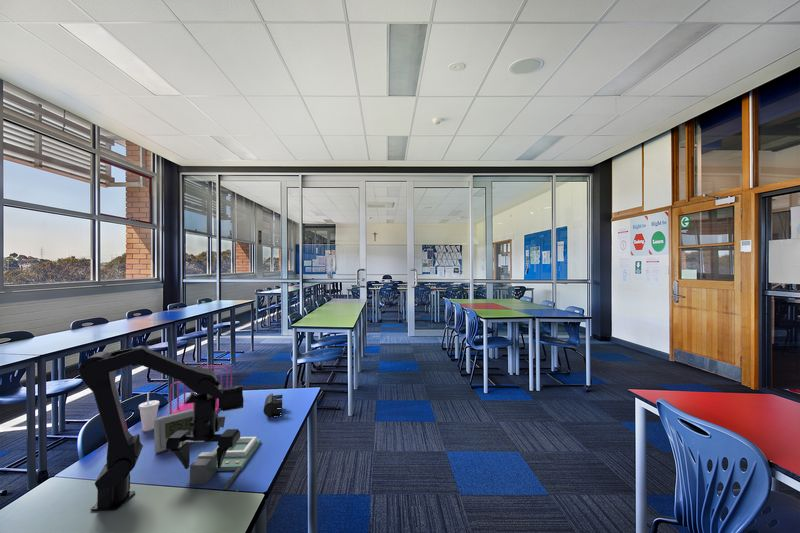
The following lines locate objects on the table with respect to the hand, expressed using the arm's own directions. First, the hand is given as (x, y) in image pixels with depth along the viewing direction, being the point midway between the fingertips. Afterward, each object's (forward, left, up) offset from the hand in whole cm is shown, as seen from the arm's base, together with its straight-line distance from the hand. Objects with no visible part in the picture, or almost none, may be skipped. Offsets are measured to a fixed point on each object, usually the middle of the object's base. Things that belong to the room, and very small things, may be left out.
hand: (203, 467), depth 94 cm
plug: (0, 0, -3) cm, 3 cm away
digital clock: (+20, +18, -3) cm, 27 cm away
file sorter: (+52, +28, -3) cm, 59 cm away
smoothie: (+31, +37, -3) cm, 48 cm away
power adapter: (+43, -6, -3) cm, 44 cm away
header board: (+11, -3, -3) cm, 12 cm away
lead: (0, -9, -3) cm, 10 cm away
